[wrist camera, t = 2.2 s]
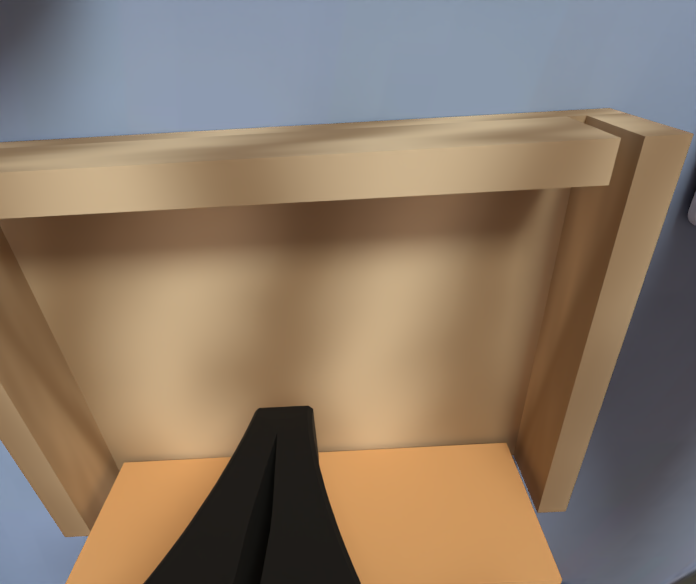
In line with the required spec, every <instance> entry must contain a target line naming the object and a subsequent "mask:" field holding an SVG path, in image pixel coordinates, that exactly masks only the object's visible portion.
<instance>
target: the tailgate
mask: <svg viewBox="0 0 696 584" xmlns="http://www.w3.org/2000/svg"><path fill="white" fill-rule="evenodd" d="M318 454H319V466H320V470H321V473H322V477H323V481H324V485H325V488H326V492H327V495H328V498H329V501H330V504H331V507H332V510H333V513H334V516H335V519H336V522H337V525H338V528H339V531H340V533H341V536H342V539H343V541H344V544H345V546H346V549H347V551H348V554H349V556H350V559H351V561H352V564H353V566H354V568H355V571H356V573H357V575H358V578H359V580H360V582H361V584H561V581H562V578H561V575H560V573H559V571H558V568H557V566H556V563H555V561H554V558H553V556H552V553H551V551H550V549H549V546H548V544H547V541H546V539H545V536H544V534H543V531H542V529H541V526H540V524H539V522H538V519H537V517H536V514H535V512H534V509H533V507H532V504H531V502H530V499H529V497H528V495H527V492H526V490H525V487H524V485H523V482H522V480H521V477H520V475H519V472H518V470H517V468H516V465H515V463H514V460H513V458H512V455H511V453H510V450H509V448H508V446H507V443H490V444H471V445H452V446H432V447H413V448H394V449H375V450H356V451H337V452H318ZM230 459H231V457H222V458H203V459H184V460H165V461H145V462H126V463H124V464H123V466H122V468H121V470H120V472H119V474H118V476H117V478H116V480H115V482H114V484H113V486H112V489H111V491H110V493H109V495H108V497H107V499H106V501H105V503H104V505H103V507H102V509H101V511H100V513H99V515H98V518H97V520H96V522H95V524H94V526H93V528H92V530H91V532H90V534H89V536H88V538H87V540H86V542H85V544H84V546H83V549H82V551H81V553H80V555H79V557H78V559H77V561H76V563H75V565H74V567H73V569H72V571H71V573H70V575H69V577H68V580H67V582H66V584H143V583H144V582H145V581H146V580H147V578H148V577H149V576H150V575H151V573H152V572H153V571H154V570H155V569H156V567H157V566H158V565H159V563H160V562H161V561H162V560H163V558H164V557H165V556H166V554H167V553H168V552H169V551H170V549H171V548H172V547H173V545H174V544H175V543H176V541H177V540H178V538H179V537H180V536H181V534H182V533H183V532H184V530H185V529H186V527H187V526H188V525H189V523H190V522H191V520H192V519H193V517H194V516H195V514H196V513H197V511H198V510H199V508H200V507H201V505H202V504H203V502H204V501H205V499H206V498H207V496H208V495H209V493H210V492H211V490H212V489H213V487H214V485H215V484H216V482H217V481H218V479H219V477H220V476H221V474H222V472H223V471H224V469H225V467H226V466H227V464H228V462H229V461H230Z"/></svg>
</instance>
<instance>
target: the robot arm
mask: <svg viewBox="0 0 696 584" xmlns="http://www.w3.org/2000/svg"><path fill="white" fill-rule="evenodd" d="M688 219H689V222H691V223H692V224H693V225H695V226H696V192H695V194H694V197H693V200H692V203H691V205H690V208H689V211H688ZM143 584H361V582H360V580H359V578H358V575H357V573H356V571H355V568H354V566H353V564H352V561H351V559H350V556H349V554H348V551H347V549H346V546H345V544H344V541H343V539H342V536H341V533H340V531H339V528H338V525H337V522H336V519H335V516H334V513H333V510H332V507H331V504H330V501H329V498H328V495H327V492H326V488H325V485H324V481H323V477H322V473H321V470H320V466H319V454H318V446H317V437H316V429H315V421H314V412H313V408H311V407H310V406H308V405H307V406H287V407H267V408H258V409H257V410H256V411H255V413H254V415H253V417H252V419H251V421H250V423H249V425H248V427H247V429H246V431H245V433H244V435H243V437H242V439H241V441H240V443H239V445H238V446H237V448H236V450H235V452H234V454H233V455H232V457H231V459H230V461H229V462H228V464H227V466H226V467H225V469H224V471H223V472H222V474H221V476H220V477H219V479H218V481H217V482H216V484H215V485H214V487H213V489H212V490H211V492H210V493H209V495H208V496H207V498H206V499H205V501H204V502H203V504H202V505H201V507H200V508H199V510H198V511H197V513H196V514H195V516H194V517H193V519H192V520H191V522H190V523H189V525H188V526H187V527H186V529H185V530H184V532H183V533H182V534H181V536H180V537H179V538H178V540H177V541H176V543H175V544H174V545H173V547H172V548H171V549H170V551H169V552H168V553H167V554H166V556H165V557H164V558H163V560H162V561H161V562H160V563H159V565H158V566H157V567H156V569H155V570H154V571H153V572H152V573H151V575H150V576H149V577H148V578H147V580H146V581H145V582H144V583H143Z"/></svg>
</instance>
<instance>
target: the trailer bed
mask: <svg viewBox="0 0 696 584" xmlns="http://www.w3.org/2000/svg"><path fill="white" fill-rule="evenodd" d="M692 137H693V133H689V132H686V131H683V130H679V129H676V128H673V127H670V126H666V125H663V124H660V123H656V122H653V121H650V120H647V119H643V118H640V117H637V116H634V115H630V114H627V113H624V112H620V111H617V110H614V109H611V108H603V109H586V110H568V111H550V112H532V113H514V114H497V115H479V116H461V117H443V118H425V119H408V120H390V121H372V122H354V123H336V124H318V125H301V126H283V127H265V128H247V129H229V130H212V131H194V132H176V133H158V134H140V135H123V136H105V137H87V138H69V139H51V140H33V141H16V142H0V440H1V441H2V443H3V444H4V446H5V447H6V449H7V450H8V452H9V453H10V455H11V456H12V458H13V459H14V461H15V462H16V464H17V465H18V467H19V468H20V470H21V471H22V473H23V474H24V476H25V477H26V479H27V480H28V482H29V483H30V485H31V486H32V488H33V489H34V491H35V492H36V494H37V495H38V497H39V498H40V500H41V501H42V503H43V504H44V506H45V507H46V509H47V511H48V512H49V514H50V515H51V517H52V518H53V520H54V521H55V523H56V524H57V526H58V527H59V529H60V530H61V532H62V533H63V535H64V536H65V537H75V536H89V534H90V532H91V530H92V528H93V526H94V524H95V522H96V520H97V518H98V515H99V513H100V511H101V509H102V507H103V505H104V503H105V501H106V499H107V497H108V495H109V493H110V491H111V489H112V486H113V484H114V482H115V480H116V478H117V476H118V474H119V472H120V470H121V468H122V466H123V464H124V463H126V462H145V461H165V460H184V459H203V458H222V457H232V455H233V454H234V452H235V450H236V448H237V446H238V445H239V443H240V441H241V439H242V437H243V435H244V433H245V431H246V429H247V427H248V425H249V423H250V421H251V419H252V417H253V415H254V413H255V411H256V410H257V409H258V408H267V407H287V406H307V405H308V406H310V407H311V408H313V412H314V421H315V429H316V437H317V446H318V452H337V451H356V450H375V449H394V448H413V447H432V446H452V445H471V444H490V443H507V446H508V448H509V450H510V453H511V455H514V457H515V459H516V462H517V464H518V466H519V469H520V471H521V474H522V476H523V478H524V481H525V483H526V486H527V488H528V491H529V493H530V495H531V498H532V500H533V503H534V505H535V507H536V510H537V512H538V513H541V512H561V511H566V509H567V506H568V503H569V500H570V497H571V494H572V491H573V488H574V485H575V482H576V479H577V476H578V473H579V470H580V467H581V464H582V461H583V459H584V456H585V453H586V450H587V447H588V444H589V441H590V438H591V435H592V432H593V429H594V426H595V423H596V420H597V417H598V414H599V411H600V408H601V406H602V403H603V400H604V397H605V394H606V391H607V388H608V385H609V382H610V379H611V376H612V373H613V370H614V367H615V364H616V361H617V358H618V355H619V352H620V350H621V347H622V344H623V341H624V338H625V335H626V332H627V329H628V326H629V323H630V320H631V317H632V314H633V311H634V308H635V305H636V302H637V299H638V297H639V294H640V291H641V288H642V285H643V282H644V279H645V276H646V273H647V270H648V267H649V264H650V261H651V258H652V255H653V252H654V249H655V246H656V243H657V241H658V238H659V235H660V232H661V229H662V226H663V223H664V220H665V217H666V214H667V211H668V208H669V205H670V202H671V199H672V196H673V193H674V190H675V187H676V185H677V182H678V179H679V176H680V173H681V170H682V167H683V164H684V161H685V158H686V155H687V152H688V149H689V146H690V143H691V140H692Z"/></svg>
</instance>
